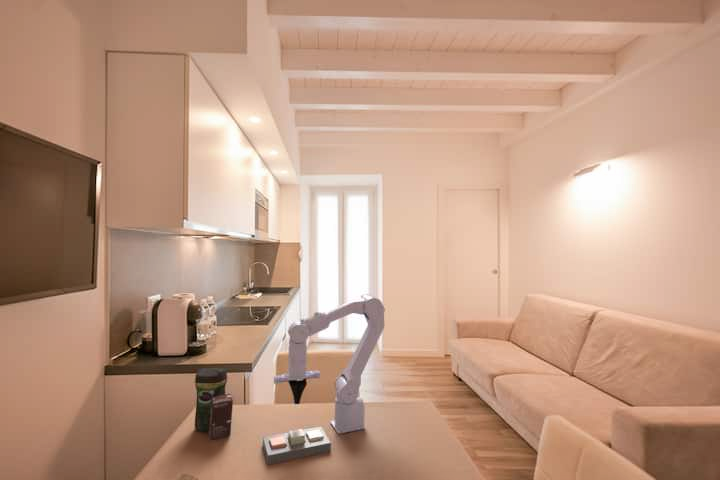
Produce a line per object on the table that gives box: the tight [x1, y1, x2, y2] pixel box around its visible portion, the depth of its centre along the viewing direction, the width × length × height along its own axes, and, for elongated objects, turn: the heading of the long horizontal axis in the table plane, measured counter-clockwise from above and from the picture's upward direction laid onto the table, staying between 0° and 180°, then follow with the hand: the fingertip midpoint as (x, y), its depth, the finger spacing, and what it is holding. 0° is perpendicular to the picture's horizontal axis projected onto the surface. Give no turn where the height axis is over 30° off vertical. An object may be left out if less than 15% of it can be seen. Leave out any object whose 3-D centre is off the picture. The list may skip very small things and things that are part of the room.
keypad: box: [262, 426, 332, 465], centre depth 109 cm, size 18×10×2 cm, turn 112°
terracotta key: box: [270, 436, 286, 449], centre depth 107 cm, size 4×4×3 cm
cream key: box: [306, 430, 323, 442], centre depth 111 cm, size 4×4×3 cm
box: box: [208, 393, 234, 440], centre depth 115 cm, size 6×4×12 cm
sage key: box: [288, 428, 305, 446], centre depth 109 cm, size 4×4×3 cm
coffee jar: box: [194, 367, 228, 432], centre depth 121 cm, size 10×8×19 cm
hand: (296, 402), depth 118 cm, fingers closed
